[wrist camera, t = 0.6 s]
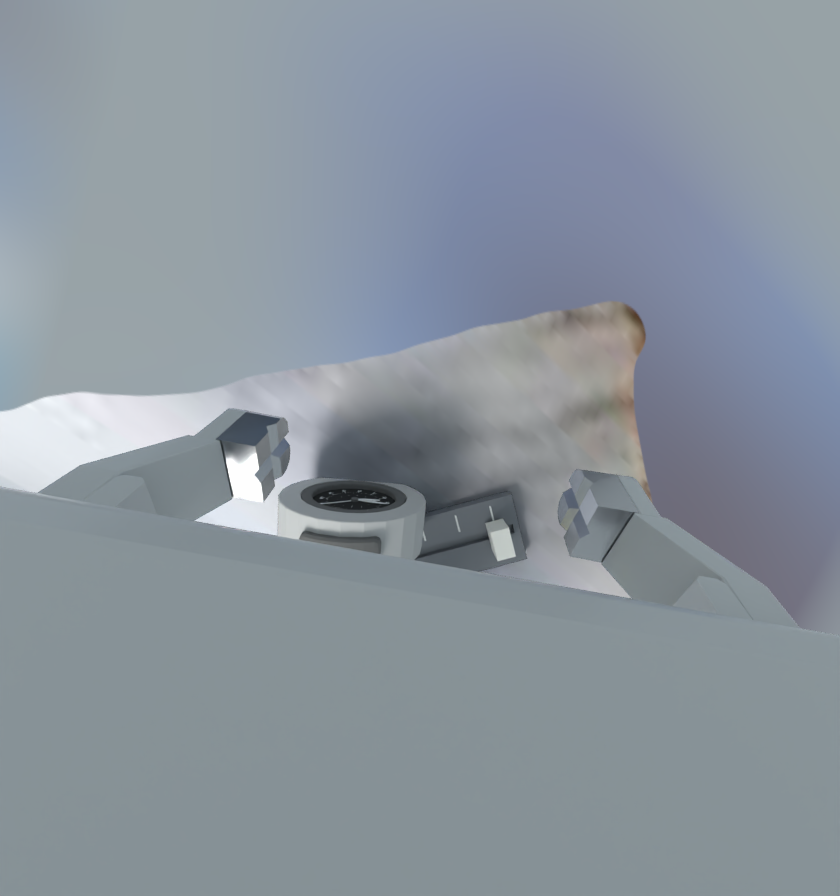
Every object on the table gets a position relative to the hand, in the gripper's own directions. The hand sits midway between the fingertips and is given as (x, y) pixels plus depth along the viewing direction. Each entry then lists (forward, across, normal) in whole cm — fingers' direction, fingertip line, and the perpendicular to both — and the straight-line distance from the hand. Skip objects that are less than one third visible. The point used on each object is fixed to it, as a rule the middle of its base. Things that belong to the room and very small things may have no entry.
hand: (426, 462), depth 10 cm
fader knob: (+36, +14, -38) cm, 55 cm away
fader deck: (+36, +9, -41) cm, 55 cm away
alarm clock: (+37, -9, -37) cm, 53 cm away
